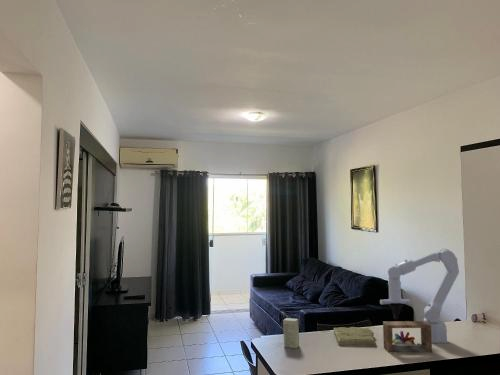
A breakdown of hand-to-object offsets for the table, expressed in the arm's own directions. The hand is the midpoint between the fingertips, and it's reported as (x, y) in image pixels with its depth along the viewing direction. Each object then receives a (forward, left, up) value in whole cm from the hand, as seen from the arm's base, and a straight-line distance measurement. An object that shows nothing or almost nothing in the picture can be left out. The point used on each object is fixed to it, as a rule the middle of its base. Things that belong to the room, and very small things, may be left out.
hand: (395, 318), depth 187 cm
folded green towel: (+21, +2, -10) cm, 23 cm away
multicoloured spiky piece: (+2, +14, -9) cm, 17 cm away
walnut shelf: (+2, +17, -9) cm, 19 cm away
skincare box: (+53, +12, -9) cm, 55 cm away
